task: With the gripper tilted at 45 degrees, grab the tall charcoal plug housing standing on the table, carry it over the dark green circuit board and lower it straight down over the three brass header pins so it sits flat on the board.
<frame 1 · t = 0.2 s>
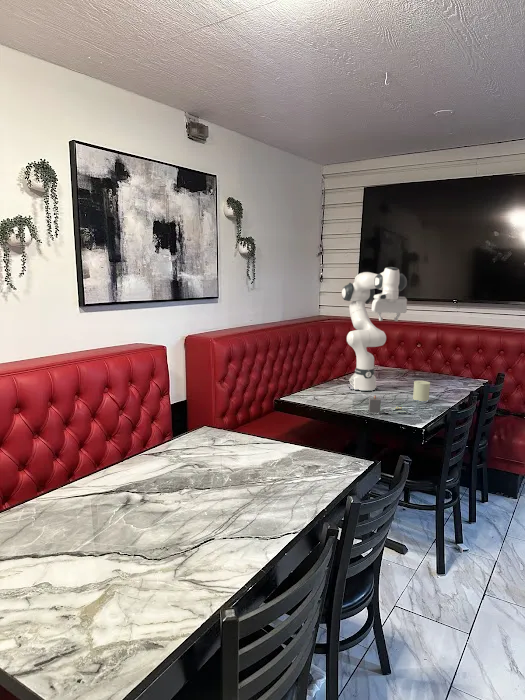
hand: (388, 320, 260), 48 cm above the table, tool pointing down, fingers open, 8 cm apart
plug housing: (374, 413, 245), on the table
can: (420, 401, 271), on the table
circuit board: (398, 412, 248), on the table
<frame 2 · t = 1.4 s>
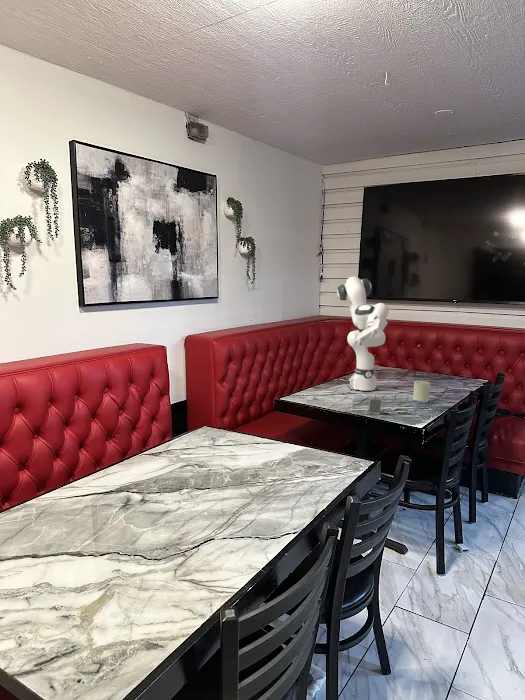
hand: (364, 342, 245), 38 cm above the table, tool tilted 55°, fingers open, 8 cm apart
nothing on the table moved.
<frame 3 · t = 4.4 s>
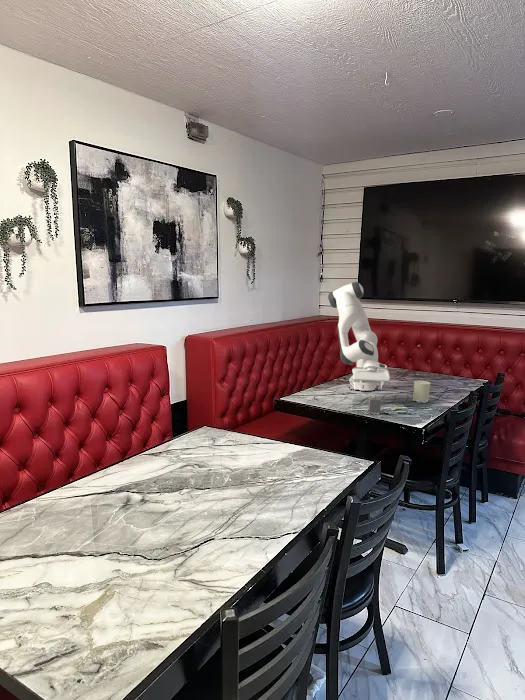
hand: (371, 388, 252), 11 cm above the table, tool tilted 45°, fingers open, 8 cm apart
nothing on the table moved.
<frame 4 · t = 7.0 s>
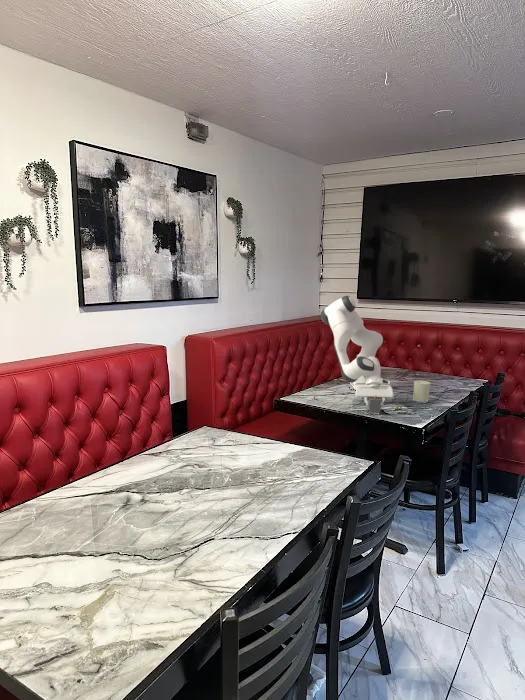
hand: (374, 405, 244), 4 cm above the table, tool tilted 45°, fingers closed on plug housing, 6 cm apart
plug housing: (374, 413, 245), on the table, touching gripper
everything else where it was.
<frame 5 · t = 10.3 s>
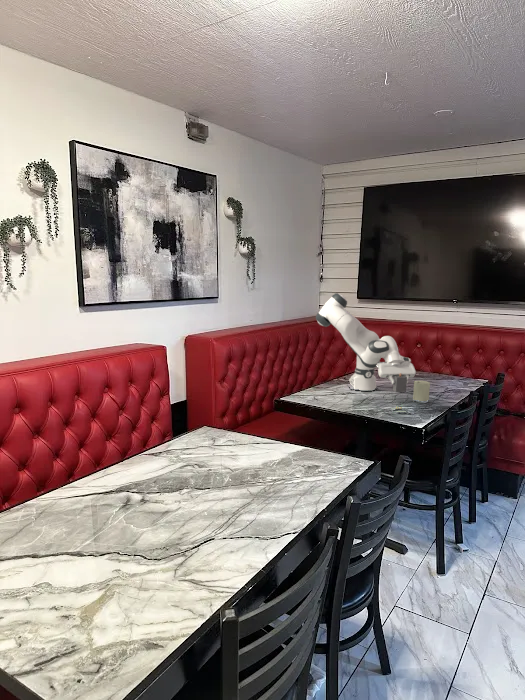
hand: (400, 383, 245), 16 cm above the table, tool tilted 45°, fingers closed on plug housing, 6 cm apart
plug housing: (399, 391, 246), point 12 cm above the table, touching gripper
everything else where it was.
when the fingers open (5 cm above the table, at t = 13.9 s): plug housing stays where it is, resting on circuit board.
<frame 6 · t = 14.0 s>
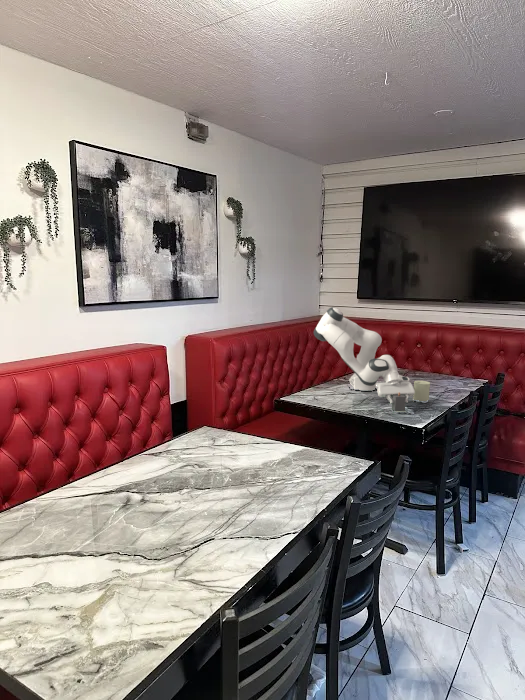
hand: (399, 402, 247), 5 cm above the table, tool tilted 45°, fingers open, 7 cm apart
plug housing: (398, 410, 248), point 1 cm above the table, touching circuit board
everything else where it was.
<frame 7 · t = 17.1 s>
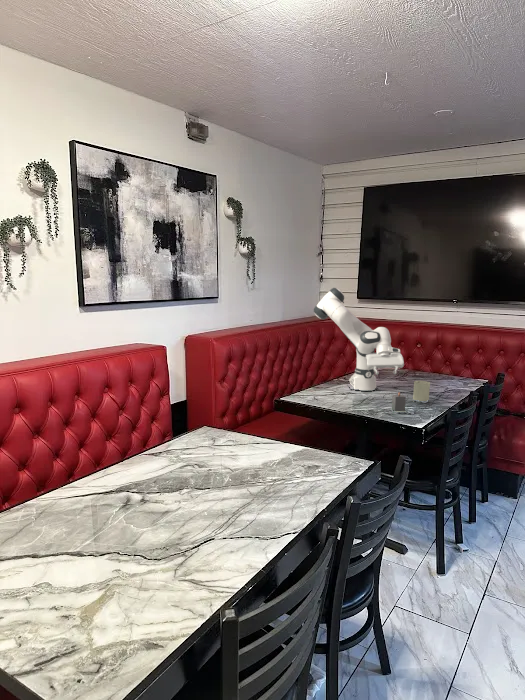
hand: (386, 373, 255), 19 cm above the table, tool tilted 40°, fingers open, 8 cm apart
nothing on the table moved.
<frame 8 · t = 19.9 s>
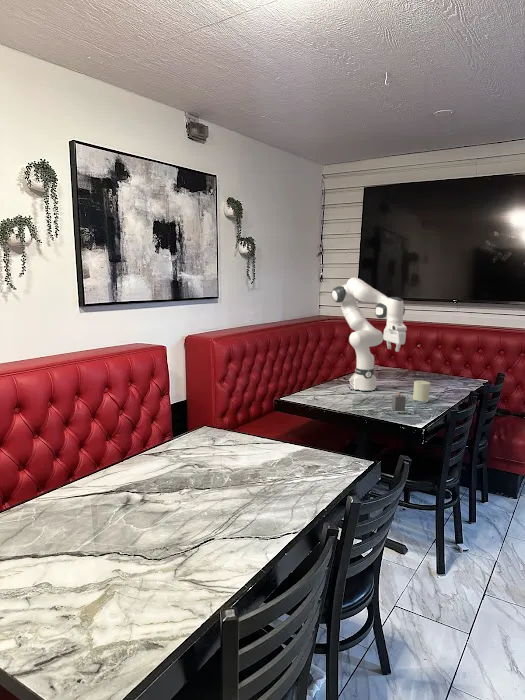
hand: (393, 350, 261), 31 cm above the table, tool pointing down, fingers open, 8 cm apart
nothing on the table moved.
at the end: plug housing 0.2 cm off-centre on the circuit board, point 1.2 cm above the circuit board's base; plug housing tilted 0°; the gripper is holding nothing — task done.
